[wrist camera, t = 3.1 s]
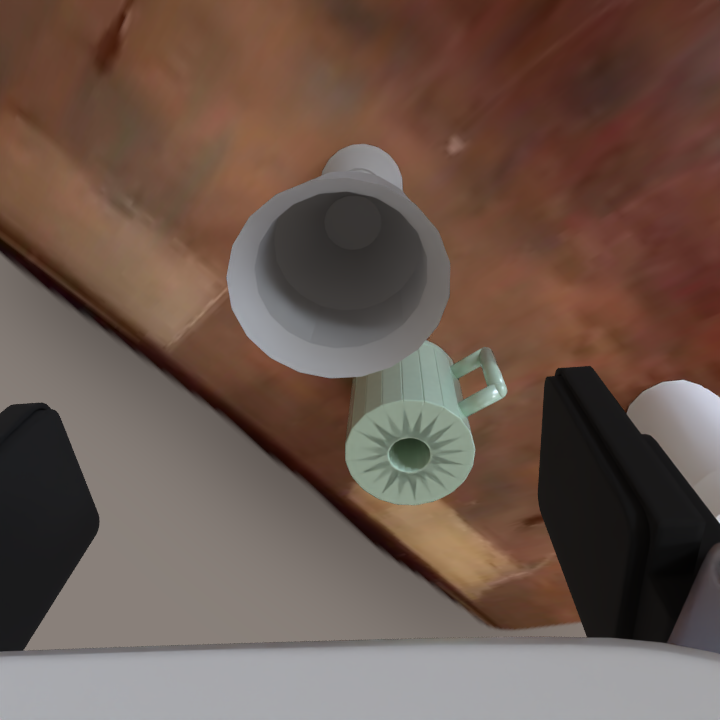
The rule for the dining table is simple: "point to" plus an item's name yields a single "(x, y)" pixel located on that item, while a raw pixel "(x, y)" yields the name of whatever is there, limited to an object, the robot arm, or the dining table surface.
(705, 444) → the foam cup
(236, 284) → the chalice
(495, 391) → the mug
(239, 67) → the dining table surface
